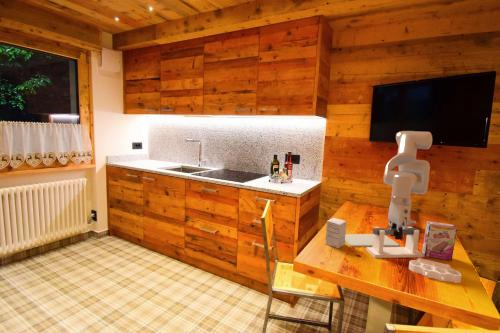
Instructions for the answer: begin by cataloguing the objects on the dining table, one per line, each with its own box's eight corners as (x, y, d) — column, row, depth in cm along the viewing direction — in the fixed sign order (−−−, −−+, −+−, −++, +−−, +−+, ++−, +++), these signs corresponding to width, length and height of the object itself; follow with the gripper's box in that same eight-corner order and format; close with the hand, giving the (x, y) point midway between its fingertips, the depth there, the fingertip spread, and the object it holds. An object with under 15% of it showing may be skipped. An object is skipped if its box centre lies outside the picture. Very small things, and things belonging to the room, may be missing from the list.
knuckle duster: (457, 272, 116) (462, 288, 103) (409, 260, 125) (408, 274, 112) (458, 264, 115) (463, 280, 103) (409, 253, 124) (409, 267, 112)
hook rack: (411, 249, 136) (414, 225, 134) (423, 257, 128) (426, 232, 126) (365, 250, 133) (368, 225, 132) (374, 257, 126) (377, 232, 124)
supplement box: (331, 240, 144) (333, 217, 142) (345, 244, 139) (347, 221, 137) (324, 243, 139) (326, 220, 137) (338, 248, 134) (340, 224, 132)
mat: (383, 235, 153) (383, 234, 153) (399, 246, 139) (399, 244, 139) (339, 235, 151) (339, 234, 150) (350, 246, 137) (350, 245, 137)
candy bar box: (424, 257, 128) (429, 224, 125) (421, 252, 132) (426, 220, 130) (452, 261, 124) (457, 227, 122) (448, 257, 129) (453, 224, 127)
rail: (415, 232, 131) (416, 228, 131) (419, 234, 129) (420, 230, 129) (372, 233, 129) (373, 228, 129) (375, 235, 127) (376, 230, 127)
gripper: (419, 205, 119) (414, 244, 122) (396, 195, 135) (392, 230, 138) (403, 205, 118) (399, 244, 121) (382, 195, 134) (378, 230, 137)
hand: (395, 237), depth 129 cm, fingers open, 3 cm apart
